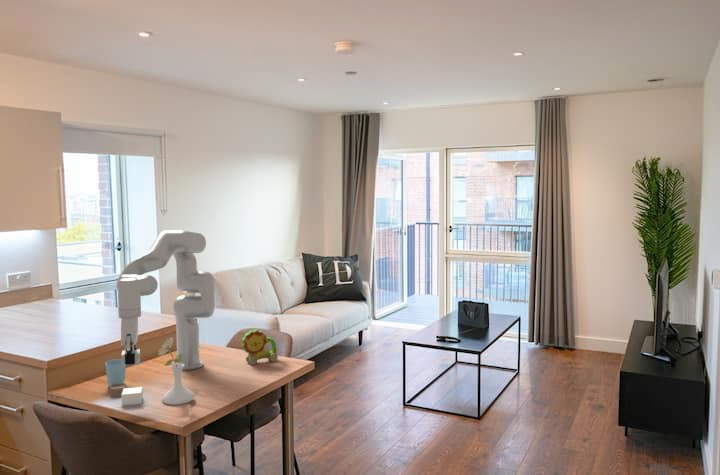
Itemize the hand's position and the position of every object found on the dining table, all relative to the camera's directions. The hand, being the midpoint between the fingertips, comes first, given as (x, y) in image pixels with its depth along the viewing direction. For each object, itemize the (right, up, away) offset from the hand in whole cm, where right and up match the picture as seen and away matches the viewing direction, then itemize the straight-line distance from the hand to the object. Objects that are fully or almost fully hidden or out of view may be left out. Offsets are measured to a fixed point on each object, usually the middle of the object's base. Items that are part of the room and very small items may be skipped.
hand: (131, 361), depth 204 cm
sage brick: (0, -1, 0) cm, 1 cm away
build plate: (0, -16, +1) cm, 16 cm away
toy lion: (+37, -12, +52) cm, 65 cm away
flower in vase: (+16, -16, +3) cm, 23 cm away
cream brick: (0, -15, +1) cm, 15 cm away
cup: (-13, -15, +18) cm, 27 cm away
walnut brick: (-9, -16, +9) cm, 20 cm away
